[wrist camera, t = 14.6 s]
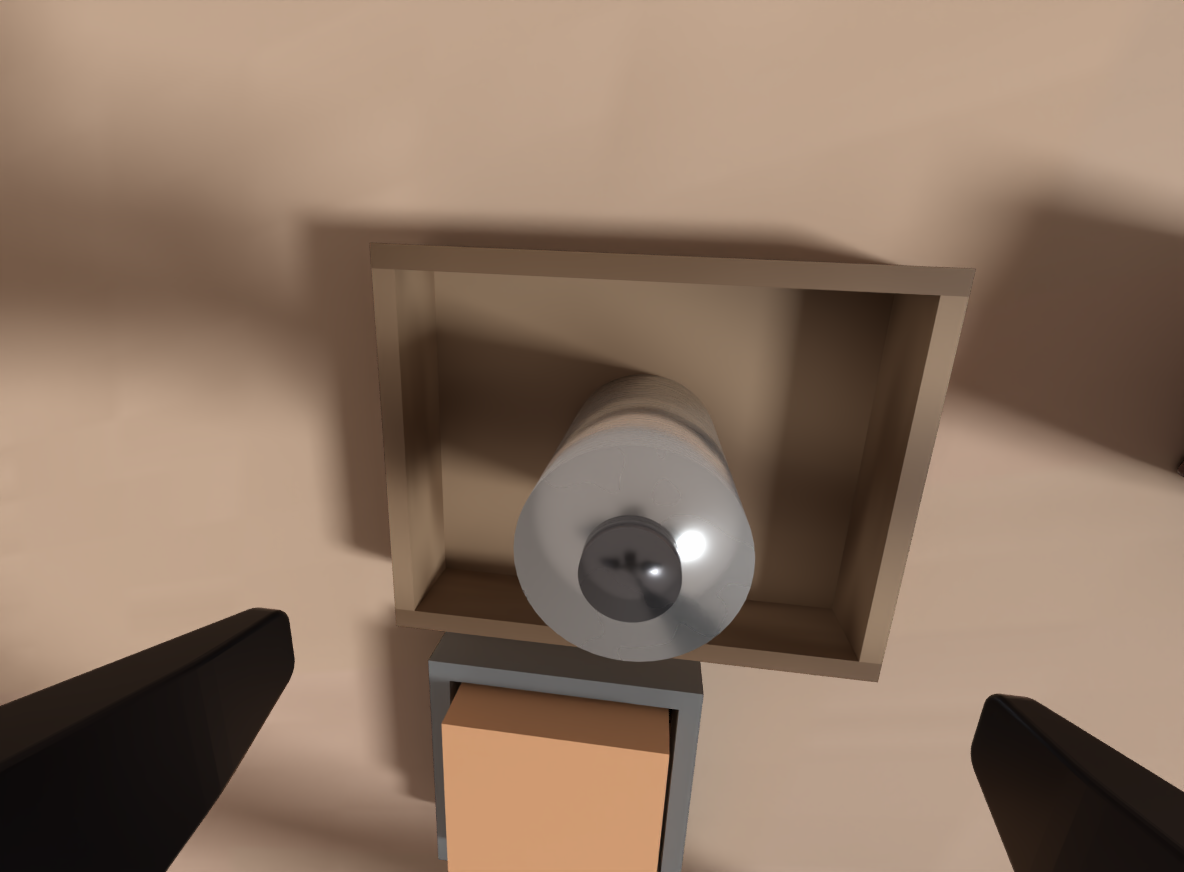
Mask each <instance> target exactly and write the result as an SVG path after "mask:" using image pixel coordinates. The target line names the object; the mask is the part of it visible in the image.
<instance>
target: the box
mask: <svg viewBox="0 0 1184 872" xmlns="http://www.w3.org/2000/svg"><path fill="white" fill-rule="evenodd" d="M1178 473H1179V474H1180V475H1182V476H1183V477H1184V462H1183V463H1182V464H1181V465H1180V466H1179V468H1178Z"/></svg>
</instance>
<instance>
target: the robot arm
mask: <svg viewBox="0 0 1184 872" xmlns="http://www.w3.org/2000/svg"><path fill="white" fill-rule="evenodd" d="M294 662H295V659H294V651H293V644H292V637H291V629H290V622H289V618H288V616H287V614H286V613H285V612H283V611H281V610H276V609H267V608H251V609H248V610H246V611H243V612H241V613H238V614H236V615H233V616H230V617H228V618H225V619H223V620H220V621H218V622H215V623H212V624H210V625H207V626H205V627H202V628H200V629H197V630H194V631H192V632H189V633H187V634H184V635H182V636H179V637H176V638H174V639H171V640H169V641H166V642H164V643H161V644H158V645H156V646H153V647H151V648H148V649H146V650H143V651H140V652H138V653H135V654H133V655H130V656H128V657H125V658H122V659H120V660H117V661H115V662H112V663H110V664H107V665H104V666H102V667H99V668H97V669H94V670H92V671H89V672H86V673H84V674H81V675H79V676H76V677H74V678H71V679H68V680H66V681H63V682H61V683H58V684H56V685H53V686H50V687H48V688H45V689H43V690H40V691H38V692H35V693H32V694H30V695H27V696H25V697H22V698H20V699H17V700H14V701H12V702H9V703H7V704H4V705H2V706H0V872H166V871H167V870H168V868H169V867H170V865H171V864H172V863H173V861H174V860H175V858H176V857H177V856H178V854H179V853H180V851H181V850H182V849H183V847H184V846H185V844H186V843H187V842H188V840H189V839H190V837H191V836H192V835H193V833H194V832H195V830H196V829H197V828H198V826H199V825H200V823H201V822H202V821H203V819H204V818H205V816H206V815H207V814H208V812H209V811H210V809H211V808H212V806H213V805H214V803H215V802H216V800H217V799H218V798H219V796H220V795H221V793H222V792H223V790H224V788H225V787H226V785H227V784H228V782H229V781H230V779H231V777H232V776H233V774H234V773H235V771H236V769H237V768H238V766H239V764H240V763H241V761H242V759H243V758H244V756H245V754H246V753H247V751H248V749H249V747H250V746H251V744H252V742H253V741H254V739H255V737H256V736H257V734H258V732H259V731H260V729H261V727H262V726H263V724H264V722H265V721H266V719H267V717H268V716H269V714H270V712H271V711H272V709H273V707H274V706H275V704H276V702H277V701H278V699H279V697H280V696H281V694H282V692H283V691H284V689H285V687H286V685H287V684H288V682H289V680H290V678H291V676H292V673H293V669H294ZM971 761H972V765H973V769H974V772H975V774H976V777H977V779H978V782H979V784H980V787H981V789H982V792H983V794H984V797H985V799H986V802H987V804H988V807H989V809H990V812H991V814H992V817H993V819H994V822H995V825H996V827H997V830H998V832H999V835H1000V837H1001V840H1002V842H1003V845H1004V847H1005V850H1006V852H1007V855H1008V857H1009V860H1010V862H1011V865H1012V867H1013V870H1014V872H1184V792H1183V791H1181V790H1180V789H1178V788H1176V787H1175V786H1173V785H1172V784H1170V783H1168V782H1167V781H1165V780H1163V779H1162V778H1160V777H1159V776H1157V775H1155V774H1154V773H1152V772H1150V771H1149V770H1147V769H1146V768H1144V767H1142V766H1141V765H1139V764H1138V763H1136V762H1134V761H1133V760H1131V759H1129V758H1128V757H1126V756H1125V755H1123V754H1121V753H1120V752H1118V751H1116V750H1115V749H1113V748H1112V747H1110V746H1108V745H1107V744H1105V743H1104V742H1102V741H1100V740H1099V739H1097V738H1095V737H1094V736H1092V735H1091V734H1089V733H1087V732H1086V731H1084V730H1082V729H1081V728H1079V727H1078V726H1076V725H1074V724H1073V723H1071V722H1069V721H1068V720H1066V719H1065V718H1063V717H1061V716H1060V715H1058V714H1057V713H1055V712H1053V711H1052V710H1050V709H1048V708H1047V707H1045V706H1044V705H1042V704H1040V703H1039V702H1037V701H1035V700H1033V699H1031V698H1028V697H1023V696H1014V695H1005V694H993V695H991V696H989V697H988V698H987V699H986V701H985V703H984V706H983V709H982V713H981V716H980V719H979V722H978V725H977V729H976V732H975V735H974V738H973V741H972V745H971Z"/></svg>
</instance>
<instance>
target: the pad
mask: <svg viewBox="0 0 1184 872" xmlns="http://www.w3.org/2000/svg"><path fill="white" fill-rule="evenodd" d="M442 747H443V769H444V791H445V814H446V836H447V858H448V872H657V865H658V856H659V847H660V838H661V829H662V819H663V810H664V801H665V792H666V782H667V773H668V764H669V755H670V754H669V708H661V707H653V706H645V705H638V704H630V703H622V702H614V701H606V700H598V699H590V698H582V697H575V696H567V695H559V694H551V693H543V692H535V691H527V690H519V689H511V688H504V687H496V686H488V685H480V684H472V683H464V682H462V683H461V685H460V687H459V689H458V691H457V693H456V695H455V697H454V699H453V701H452V703H451V705H450V707H449V709H448V711H447V713H446V715H445V718H444V720H443V722H442Z"/></svg>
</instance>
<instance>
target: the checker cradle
mask: <svg viewBox="0 0 1184 872" xmlns="http://www.w3.org/2000/svg"><path fill="white" fill-rule="evenodd" d="M428 664H429V684H430V703H431V722H432V742H433V761H434V781H435V800H436V820H437V839H438V859H440V860H447V861H448V858H447V836H446V814H445V791H444V769H443V747H442V722H443V720H444V718H445V715H446V713H447V711H448V709H449V707H450V705H451V703H452V701H453V699H454V697H455V695H456V693H457V691H458V689H459V687H460V685H461V683H462V682H464V683H472V684H480V685H488V686H496V687H504V688H511V689H519V690H527V691H535V692H543V693H551V694H559V695H567V696H575V697H582V698H590V699H598V700H606V701H614V702H622V703H630V704H638V705H645V706H653V707H661V708H669V709H673V711H672V720H671V730H670V739H669V754H670V755H669V764H668V773H667V782H666V792H665V801H664V810H663V819H662V829H661V838H660V847H659V856H658V865H657V872H681V869H682V861H683V853H684V845H685V837H686V829H687V821H688V813H689V805H690V798H691V790H692V782H693V774H694V766H695V758H696V750H697V742H698V734H699V726H700V718H701V711H702V703H703V695H704V694H703V685H702V675H701V665H700V661H692V660H683V659H675V658H669V659H663V660H657V661H645V662H634V661H622V660H616V659H610V658H606V657H603V656H599V655H596V654H593V653H591V652H588V651H586V650H583V649H581V648H579V647H573V646H564V645H555V644H547V643H538V642H530V641H521V640H513V639H504V638H496V637H487V636H479V635H470V634H462V633H453V632H445V634H444V635H443V637H442V639H441V640H440V642H439V644H438V645H437V647H436V649H435V650H434V652H433V654H432V655H431V657H430V659H429V660H428Z"/></svg>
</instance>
